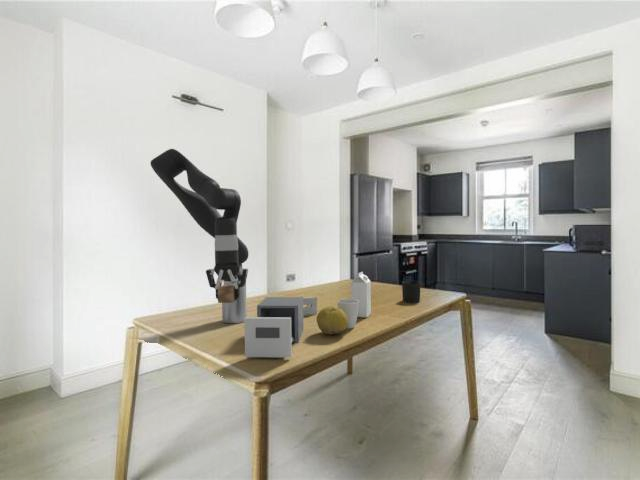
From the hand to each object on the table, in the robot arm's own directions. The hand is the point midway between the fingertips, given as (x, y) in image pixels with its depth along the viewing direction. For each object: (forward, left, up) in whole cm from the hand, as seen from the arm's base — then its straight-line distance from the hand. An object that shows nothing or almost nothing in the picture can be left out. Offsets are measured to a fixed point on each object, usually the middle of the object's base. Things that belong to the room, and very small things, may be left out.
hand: (228, 299), depth 118 cm
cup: (+40, +22, -15) cm, 48 cm away
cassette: (+21, +40, -15) cm, 48 cm away
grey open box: (+16, +10, -15) cm, 24 cm away
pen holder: (+74, +72, -15) cm, 104 cm away
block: (0, 0, 0) cm, 0 cm away
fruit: (+34, +12, -15) cm, 39 cm away
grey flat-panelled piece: (+16, -7, -14) cm, 22 cm away
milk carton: (+46, +40, -15) cm, 63 cm away
